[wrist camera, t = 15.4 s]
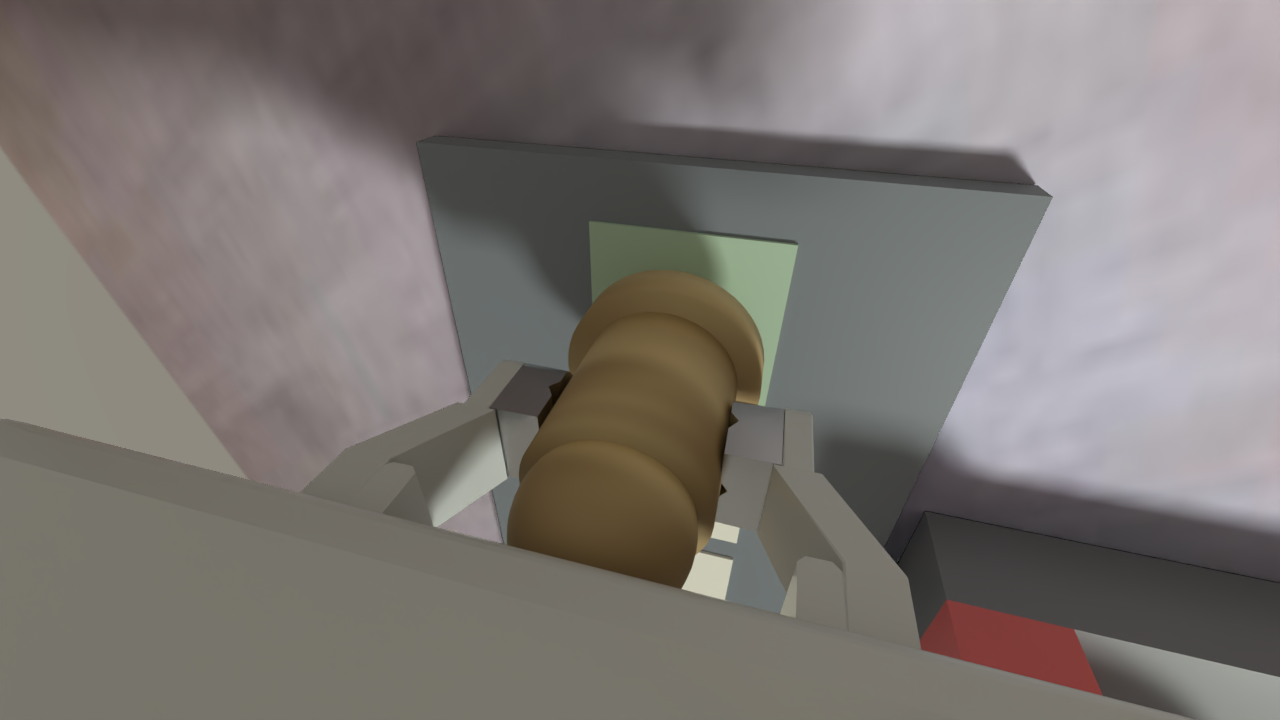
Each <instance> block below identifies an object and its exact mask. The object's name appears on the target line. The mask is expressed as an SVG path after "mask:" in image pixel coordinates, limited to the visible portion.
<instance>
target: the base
mask: <svg viewBox="0 0 1280 720" xmlns="http://www.w3.org/2000/svg"><path fill="white" fill-rule="evenodd" d="M897 565H898V566H899V567H900V569H901V570H902V571H903V572H904V574H905V575H906V576H907V577H908V580H909V586H910V591H911V597H912V602H913V607H914V613H915V618H916V623H917V629H918V634H919V639H920V645H921V650H924V651H928V652H932V653H936V654H940V655H944V656H948V657H952V658H956V659H960V660H964V661H968V662H972V663H976V664H980V665H984V666H988V667H992V668H996V669H999V670H1003V671H1007V672H1011V673H1015V674H1019V675H1023V676H1027V677H1031V678H1035V679H1039V680H1043V681H1047V682H1051V683H1055V684H1059V685H1063V686H1067V687H1071V688H1074V689H1078V690H1082V691H1086V692H1090V693H1094V694H1098V695H1102V696H1106V697H1110V698H1114V699H1118V700H1122V701H1126V702H1130V703H1134V704H1138V705H1142V706H1146V707H1150V708H1153V709H1157V710H1161V711H1165V712H1169V713H1173V714H1177V715H1181V716H1185V717H1189V718H1193V719H1197V720H1280V583H1275V582H1270V581H1265V580H1260V579H1255V578H1250V577H1246V576H1241V575H1236V574H1231V573H1226V572H1221V571H1216V570H1211V569H1206V568H1201V567H1196V566H1191V565H1186V564H1182V563H1177V562H1172V561H1167V560H1162V559H1157V558H1152V557H1147V556H1142V555H1137V554H1132V553H1127V552H1123V551H1118V550H1113V549H1108V548H1103V547H1098V546H1093V545H1088V544H1083V543H1078V542H1073V541H1068V540H1063V539H1059V538H1054V537H1049V536H1044V535H1039V534H1034V533H1029V532H1024V531H1019V530H1014V529H1009V528H1004V527H1000V526H995V525H990V524H985V523H980V522H975V521H970V520H965V519H960V518H955V517H950V516H945V515H941V514H936V513H931V512H926V511H925V513H924V515H923V517H922V519H921V520H920V522H919V524H918V526H917V528H916V530H915V532H914V534H913V536H912V538H911V540H910V541H909V543H908V545H907V547H906V549H905V551H904V553H903V555H902V557H901V559H900V561H899V563H898V564H897Z"/></svg>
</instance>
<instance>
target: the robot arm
mask: <svg viewBox="0 0 1280 720" xmlns="http://www.w3.org/2000/svg"><path fill="white" fill-rule="evenodd" d="M572 376H573V375H572V373H571V372H570V371H565V370H560V369H554V368H549V367H544V366H539V365H534V364H529V363H527V364H526V363H523V362H518V361H512V360H507V359H506V360H503V361H501V362H500V363H499V364H498V365H497V366H496V367H495V368H494V370H493V371H492V372H491V373H490V374H489V375H488V377H487V378H486V379H485V380H484V381H483V382H482V383H481V385H480V386H479V387H478V388H477V389H476V390H475V392H474V393H473V394H472V395H471V396H470V397H469V398H468V400H467V401H466V402H465V403H459V402H457V403H455V404H452V405H450V406H448V407H445V408H443V409H440V410H438V411H436V412H433V413H431V414H428V415H426V416H424V417H421V418H419V419H416V420H414V421H411V422H409V423H407V424H404V425H402V426H399V427H397V428H395V429H392V430H390V431H387V432H385V433H382V434H380V435H378V436H375V437H373V438H370V439H368V440H366V441H363V442H361V443H358V444H356V445H354V446H351V447H349V448H346V449H345V450H344V451H343V452H342V453H341V454H340V455H339V456H338V457H337V458H336V459H335V460H333V461H332V462H331V463H330V464H329V465H328V466H327V467H326V468H325V469H324V470H323V471H322V472H321V473H320V474H319V475H318V476H317V477H316V478H315V479H314V480H313V481H312V482H310V483H309V484H308V485H307V486H306V487H305V488H304V489H303V490H302V491H301V492H296V491H292V490H288V489H284V488H280V487H276V486H272V485H268V484H264V483H260V482H256V481H252V480H248V479H244V478H240V477H236V476H232V475H228V474H224V473H220V472H216V471H213V470H209V469H204V468H201V467H196V466H193V465H188V464H184V463H181V462H177V461H173V460H169V459H165V458H161V457H157V456H153V455H149V454H145V453H141V452H137V451H133V450H130V449H126V448H121V447H118V446H114V445H110V444H106V443H102V442H98V441H94V440H90V439H86V438H82V437H78V436H74V435H71V434H67V433H63V432H58V431H55V430H51V429H47V428H43V427H40V426H36V425H32V424H28V423H24V422H19V421H14V420H9V419H0V720H1197V719H1193V718H1189V717H1185V716H1181V715H1177V714H1173V713H1169V712H1165V711H1161V710H1157V709H1153V708H1150V707H1146V706H1142V705H1138V704H1134V703H1130V702H1126V701H1122V700H1118V699H1114V698H1110V697H1106V696H1102V695H1098V694H1094V693H1090V692H1086V691H1082V690H1078V689H1074V688H1071V687H1067V686H1063V685H1059V684H1055V683H1051V682H1047V681H1043V680H1039V679H1035V678H1031V677H1027V676H1023V675H1019V674H1015V673H1011V672H1007V671H1003V670H999V669H996V668H992V667H988V666H984V665H980V664H976V663H972V662H968V661H964V660H960V659H956V658H952V657H948V656H944V655H940V654H936V653H932V652H928V651H924V650H921V645H920V639H919V634H918V629H917V623H916V618H915V613H914V607H913V602H912V597H911V591H910V586H909V580H908V577H907V576H906V575H905V574H904V572H903V571H902V570H901V569H900V567H899V566H898V565H897V564H896V563H895V561H894V560H893V559H892V558H891V557H890V555H889V554H888V553H887V552H886V551H885V549H884V548H883V547H882V546H881V544H880V543H879V542H878V541H877V540H876V538H875V537H874V536H873V535H872V534H871V532H870V531H869V530H868V529H867V528H866V526H865V525H864V524H863V523H862V521H861V520H860V519H859V518H858V517H857V515H856V514H855V513H854V512H853V511H852V509H851V508H850V507H849V506H848V504H847V503H846V502H845V501H844V500H843V498H842V497H841V496H840V495H839V494H838V492H837V491H836V490H835V489H834V488H833V486H832V485H831V484H830V483H829V481H828V480H827V479H826V478H825V477H824V475H823V474H820V473H815V472H814V446H813V416H812V414H811V412H806V411H799V410H792V409H786V408H785V409H781V408H775V407H769V406H763V405H757V404H752V403H746V402H740V401H733V406H732V411H731V417H730V423H729V428H728V434H727V440H726V446H725V452H724V458H723V464H722V470H721V489H720V495H719V500H718V506H717V512H716V518H715V522H718V523H722V524H726V525H730V526H734V527H738V528H742V529H746V530H750V531H754V532H758V533H757V535H758V537H759V539H760V541H761V543H762V545H763V547H764V549H765V551H766V553H767V555H768V557H769V559H770V561H771V563H772V565H773V567H774V569H775V572H776V574H777V576H778V578H779V580H780V582H781V584H782V586H783V588H784V590H785V592H786V597H785V600H784V603H783V606H782V609H781V612H780V614H778V613H774V612H770V611H766V610H762V609H758V608H754V607H751V606H747V605H743V604H739V603H735V602H731V601H727V600H723V599H719V598H715V597H711V596H707V595H703V594H699V593H695V592H691V591H687V590H683V589H679V588H675V587H671V586H668V585H664V584H660V583H656V582H652V581H648V580H644V579H640V578H636V577H632V576H628V575H624V574H620V573H616V572H612V571H608V570H604V569H600V568H596V567H592V566H588V565H584V564H580V563H577V562H573V561H569V560H565V559H561V558H557V557H553V556H549V555H545V554H541V553H537V552H533V551H529V550H525V549H521V548H517V547H513V546H509V545H505V544H501V543H497V542H493V541H490V540H486V539H482V538H478V537H474V536H470V535H466V534H462V533H458V532H454V531H450V530H446V529H442V528H438V526H439V525H440V524H442V523H443V522H445V521H446V520H448V519H449V518H451V517H452V516H454V515H455V514H457V513H458V512H459V511H461V510H462V509H464V508H465V507H467V506H468V505H470V504H471V503H473V502H474V501H476V500H477V499H478V498H480V497H481V496H483V495H484V494H486V493H487V492H489V491H490V490H492V489H493V488H495V487H496V486H497V485H499V484H500V483H502V482H503V481H505V480H506V479H507V476H508V477H513V478H518V479H519V467H520V463H521V460H522V457H523V455H524V453H525V451H526V450H527V448H528V447H529V445H530V443H531V442H532V440H533V439H534V437H535V435H536V434H537V432H538V431H539V429H540V427H541V426H542V424H543V423H544V421H545V419H546V418H547V416H548V415H549V413H550V411H551V410H552V408H553V407H554V405H555V403H556V402H557V400H558V399H559V397H560V395H561V394H562V392H563V391H564V389H565V387H566V386H567V384H568V383H569V381H570V379H571V378H572Z"/></svg>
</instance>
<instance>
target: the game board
mask: <svg viewBox="0 0 1280 720" xmlns="http://www.w3.org/2000/svg"><path fill="white" fill-rule="evenodd" d="M416 144H417V149H418V153H419V158H420V162H421V167H422V172H423V176H424V181H425V185H426V190H427V194H428V199H429V203H430V208H431V213H432V217H433V222H434V226H435V231H436V235H437V240H438V245H439V249H440V254H441V258H442V263H443V267H444V272H445V276H446V281H447V286H448V290H449V295H450V299H451V304H452V308H453V313H454V317H455V322H456V327H457V331H458V336H459V340H460V345H461V349H462V354H463V359H464V363H465V368H466V372H467V377H468V381H469V386H470V390H471V395H472V394H473V393H474V392H475V390H476V389H477V388H478V387H479V386H480V385H481V383H482V382H483V381H484V380H485V379H486V378H487V377H488V375H489V374H490V373H491V372H492V371H493V370H494V368H495V367H496V366H497V365H498V364H499V363H500V362H501V361H503V360H506V359H507V360H512V361H518V362H523V363H526V364H527V363H529V364H534V365H539V366H544V367H549V368H554V369H560V370H565V371H569V365H568V352H569V345H570V341H571V338H572V335H573V333H574V331H575V329H576V327H577V325H578V324H579V322H580V321H581V319H582V318H583V317H584V315H585V314H586V312H587V311H588V310H589V308H590V307H591V305H592V304H593V303H594V301H595V300H596V299H597V297H598V296H599V295H600V294H601V293H602V292H603V291H604V290H605V289H606V288H607V287H609V286H610V285H612V284H613V283H614V282H616V281H618V280H620V279H622V278H624V277H626V276H629V275H632V274H635V273H638V272H643V271H649V270H675V271H681V272H686V273H690V274H693V275H696V276H699V277H702V278H704V279H707V280H709V281H711V282H713V283H715V284H717V285H718V286H720V287H721V288H723V289H725V290H726V291H727V292H729V293H730V294H731V295H732V296H734V297H735V298H736V299H737V300H738V301H739V302H740V303H741V304H742V305H743V306H744V307H745V309H746V310H747V311H748V313H749V314H750V316H751V317H752V319H753V320H754V322H755V324H756V326H757V328H758V330H759V333H760V336H761V339H762V343H763V348H764V367H763V376H762V386H761V394H760V399H759V403H758V405H763V406H769V407H775V408H781V409H785V408H786V409H792V410H799V411H806V412H811V414H812V416H813V446H814V472H815V473H820V474H823V475H824V477H825V478H826V479H827V480H828V481H829V483H830V484H831V485H832V486H833V488H834V489H835V490H836V491H837V492H838V494H839V495H840V496H841V497H842V498H843V500H844V501H845V502H846V503H847V504H848V506H849V507H850V508H851V509H852V511H853V512H854V513H855V514H856V515H857V517H858V518H859V519H860V520H861V521H862V523H863V524H864V525H865V526H866V528H867V529H868V530H869V531H870V532H871V534H872V535H873V536H874V537H875V538H876V540H877V541H878V542H879V543H880V544H881V546H882V547H883V548H884V547H885V545H886V542H887V540H888V538H889V536H890V534H891V532H892V530H893V528H894V526H895V524H896V522H897V520H898V517H899V515H900V513H901V511H902V509H903V507H904V505H905V503H906V501H907V499H908V497H909V495H910V493H911V490H912V488H913V486H914V484H915V482H916V480H917V478H918V476H919V474H920V472H921V470H922V468H923V466H924V463H925V461H926V459H927V457H928V455H929V453H930V451H931V449H932V447H933V445H934V443H935V441H936V439H937V436H938V434H939V432H940V430H941V428H942V426H943V424H944V422H945V420H946V418H947V416H948V414H949V411H950V409H951V407H952V405H953V403H954V401H955V399H956V397H957V395H958V393H959V391H960V389H961V387H962V384H963V382H964V380H965V378H966V376H967V374H968V372H969V370H970V368H971V366H972V364H973V362H974V360H975V357H976V355H977V353H978V351H979V349H980V347H981V345H982V343H983V341H984V339H985V337H986V335H987V333H988V330H989V328H990V326H991V324H992V322H993V320H994V318H995V316H996V314H997V312H998V310H999V308H1000V305H1001V303H1002V301H1003V299H1004V297H1005V295H1006V293H1007V291H1008V289H1009V287H1010V285H1011V283H1012V281H1013V278H1014V276H1015V274H1016V272H1017V270H1018V268H1019V266H1020V264H1021V262H1022V260H1023V258H1024V256H1025V254H1026V251H1027V249H1028V247H1029V245H1030V243H1031V241H1032V239H1033V237H1034V235H1035V233H1036V231H1037V229H1038V227H1039V224H1040V222H1041V220H1042V218H1043V216H1044V214H1045V212H1046V210H1047V208H1048V206H1049V204H1050V202H1051V199H1052V196H1051V195H1049V194H1048V193H1047V192H1045V191H1044V190H1043V189H1042V188H1040V187H1039V186H1038V185H1025V184H1013V183H1001V182H989V181H977V180H965V179H952V178H940V177H928V176H916V175H904V174H892V173H879V172H867V171H855V170H843V169H831V168H819V167H807V166H794V165H782V164H770V163H758V162H746V161H734V160H721V159H709V158H697V157H685V156H673V155H661V154H648V153H636V152H624V151H612V150H600V149H588V148H576V147H563V146H551V145H539V144H527V143H515V142H503V141H490V140H478V139H466V138H454V137H442V136H433V137H430V138H427V139H424V140H421V141H419V142H416ZM519 485H520V483H519V479H518V478H513V477H508V476H507V479H506V480H505V481H503V482H502V483H500V484H499V485H497V486H496V487H495V488H493V489H492V491H493V495H494V500H495V504H496V509H497V514H498V518H499V523H500V527H501V532H502V536H503V541H504V544H505V545H507V523H508V517H509V511H510V508H511V505H512V502H513V499H514V496H515V494H516V492H517V490H518V488H519ZM757 533H758V532H754V531H750V530H746V529H742V528H738V527H734V526H730V525H726V524H722V523H718V522H715V524H714V529H713V532H712V536H711V537H710V539H709V541H708V543H707V544H706V546H705V547H704V548H703V549H702V550H701V551H700V552H699V553H698V554H696V555H695V558H694V562H693V565H692V569H691V571H690V573H689V575H688V578H687V580H686V582H685V584H684V585H683V587H682V589H683V590H687V591H691V592H695V593H699V594H703V595H707V596H711V597H715V598H719V599H723V600H727V601H731V602H735V603H739V604H743V605H747V606H751V607H754V608H758V609H762V610H766V611H770V612H774V613H778V614H780V612H781V609H782V606H783V603H784V600H785V597H786V592H785V590H784V588H783V586H782V584H781V582H780V580H779V578H778V576H777V574H776V572H775V569H774V567H773V565H772V563H771V561H770V559H769V557H768V555H767V553H766V551H765V549H764V547H763V545H762V543H761V541H760V539H759V537H758V535H757Z"/></svg>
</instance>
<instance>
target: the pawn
mask: <svg viewBox="0 0 1280 720" xmlns="http://www.w3.org/2000/svg"><path fill="white" fill-rule="evenodd" d="M568 365H569V371H570V372H571V373H572V375H573V376H572V378H571V379H570V381H569V383H568V384H567V386H566V387H565V389H564V391H563V392H562V394H561V395H560V397H559V399H558V400H557V402H556V403H555V405H554V407H553V408H552V410H551V411H550V413H549V415H548V416H547V418H546V419H545V421H544V423H543V424H542V426H541V427H540V429H539V431H538V432H537V434H536V435H535V437H534V439H533V440H532V442H531V443H530V445H529V447H528V448H527V450H526V451H525V453H524V455H523V457H522V460H521V463H520V467H519V483H520V485H519V488H518V490H517V492H516V494H515V496H514V499H513V502H512V505H511V508H510V511H509V517H508V523H507V545H509V546H513V547H517V548H521V549H525V550H529V551H533V552H537V553H541V554H545V555H549V556H553V557H557V558H561V559H565V560H569V561H573V562H577V563H580V564H584V565H588V566H592V567H596V568H600V569H604V570H608V571H612V572H616V573H620V574H624V575H628V576H632V577H636V578H640V579H644V580H648V581H652V582H656V583H660V584H664V585H668V586H671V587H675V588H679V589H682V587H683V585H684V584H685V582H686V580H687V578H688V575H689V573H690V571H691V569H692V565H693V562H694V558H695V555H696V554H698V553H699V552H700V551H701V550H702V549H703V548H704V547H705V546H706V544H707V543H708V541H709V539H710V537H711V536H712V532H713V529H714V524H715V518H716V512H717V506H718V500H719V495H720V489H721V470H722V464H723V458H724V452H725V446H726V440H727V434H728V428H729V423H730V417H731V411H732V406H733V401H740V402H746V403H752V404H757V405H758V403H759V399H760V394H761V386H762V376H763V367H764V348H763V343H762V339H761V336H760V333H759V330H758V328H757V326H756V324H755V322H754V320H753V319H752V317H751V316H750V314H749V313H748V311H747V310H746V309H745V307H744V306H743V305H742V304H741V303H740V302H739V301H738V300H737V299H736V298H735V297H734V296H732V295H731V294H730V293H729V292H727V291H726V290H725V289H723V288H721V287H720V286H718V285H717V284H715V283H713V282H711V281H709V280H707V279H704V278H702V277H699V276H696V275H693V274H690V273H686V272H681V271H675V270H649V271H643V272H638V273H635V274H632V275H629V276H626V277H624V278H622V279H620V280H618V281H616V282H614V283H613V284H612V285H610V286H609V287H607V288H606V289H605V290H604V291H603V292H602V293H601V294H600V295H599V296H598V297H597V299H596V300H595V301H594V303H593V304H592V305H591V307H590V308H589V310H588V311H587V312H586V314H585V315H584V317H583V318H582V319H581V321H580V322H579V324H578V325H577V327H576V329H575V331H574V333H573V335H572V338H571V341H570V345H569V352H568Z"/></svg>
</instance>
